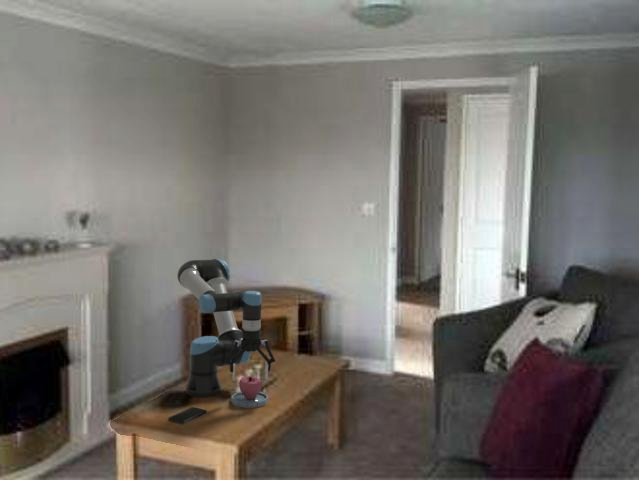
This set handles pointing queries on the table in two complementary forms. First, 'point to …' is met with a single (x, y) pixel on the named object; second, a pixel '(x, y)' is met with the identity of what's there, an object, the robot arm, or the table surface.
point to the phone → (187, 415)
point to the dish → (249, 400)
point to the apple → (250, 387)
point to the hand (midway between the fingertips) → (250, 379)
